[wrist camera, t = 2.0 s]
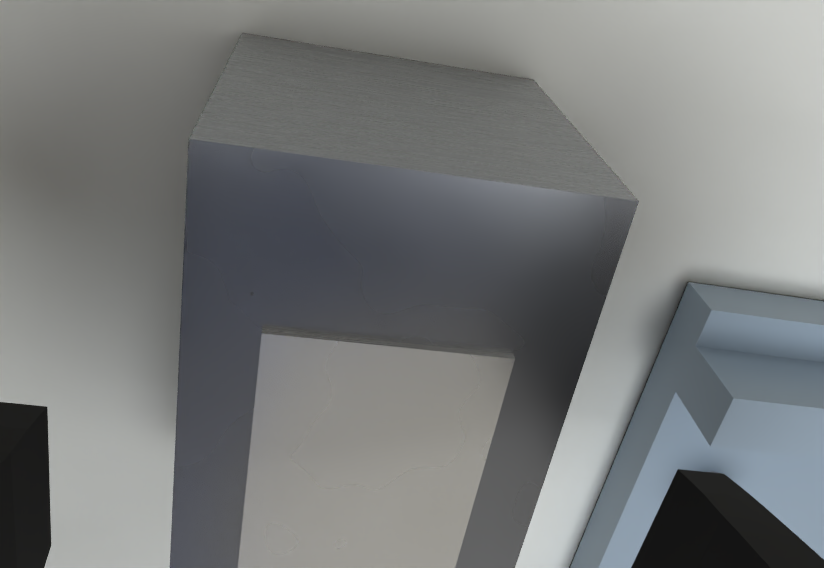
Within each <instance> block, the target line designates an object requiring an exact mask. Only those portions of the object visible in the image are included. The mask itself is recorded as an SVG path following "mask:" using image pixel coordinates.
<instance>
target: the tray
mask: <svg viewBox="0 0 824 568" xmlns="http://www.w3.org/2000/svg"><path fill="white" fill-rule="evenodd" d="M678 469H681V470H692V471H702V472H712V473H722V474H725V475H726V476H728V477H729V478H730V479H731V480H733V481H734V482H735V483H736V484H738V485H739V486H740V487H741V488H743V489H744V490H745V491H746V492H747V493H749V494H750V495H751V496H752V497H753V498H755V499H756V500H757V501H758V502H759V503H760V504H762V505H763V506H764V507H765V508H766V509H767V510H769V511H770V512H771V513H772V514H773V515H774V516H775V517H777V518H778V519H779V520H780V521H781V522H782V523H783V524H784V525H786V526H787V527H788V528H789V529H790V530H791V531H792V532H793V533H795V534H796V535H797V536H798V537H799V538H800V539H801V540H802V541H804V542H805V543H806V544H807V545H808V546H809V547H810V548H811V549H812V550H814V551H815V552H816V553H817V554H818V555H819V556H820V557H821V558H823V559H824V301H819V300H812V299H805V298H798V297H791V296H784V295H776V294H769V293H762V292H755V291H748V290H741V289H734V288H727V287H720V286H713V285H706V284H699V283H692V282H688V284H687V287H686V289H685V292H684V294H683V296H682V299H681V301H680V304H679V306H678V308H677V311H676V313H675V316H674V318H673V321H672V323H671V325H670V328H669V330H668V333H667V335H666V337H665V340H664V342H663V345H662V347H661V349H660V352H659V354H658V357H657V359H656V362H655V364H654V366H653V369H652V371H651V374H650V376H649V378H648V381H647V383H646V386H645V388H644V390H643V393H642V395H641V398H640V400H639V403H638V405H637V407H636V410H635V412H634V415H633V417H632V419H631V422H630V424H629V427H628V429H627V431H626V434H625V436H624V439H623V441H622V443H621V446H620V448H619V451H618V453H617V456H616V458H615V460H614V463H613V465H612V468H611V470H610V472H609V475H608V477H607V480H606V482H605V484H604V487H603V489H602V492H601V494H600V497H599V499H598V501H597V504H596V506H595V509H594V511H593V513H592V516H591V518H590V521H589V523H588V525H587V528H586V530H585V533H584V535H583V538H582V540H581V542H580V545H579V547H578V550H577V552H576V554H575V557H574V559H573V562H572V564H571V566H570V568H631V567H632V565H633V563H634V561H635V559H636V556H637V554H638V552H639V550H640V548H641V546H642V544H643V542H644V540H645V537H646V535H647V533H648V531H649V529H650V527H651V525H652V523H653V520H654V518H655V516H656V514H657V512H658V510H659V508H660V506H661V504H662V501H663V499H664V497H665V495H666V493H667V491H668V489H669V487H670V484H671V482H672V480H673V478H674V476H675V474H676V472H677V470H678Z"/></svg>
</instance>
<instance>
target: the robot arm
mask: <svg viewBox="0 0 824 568" xmlns="http://www.w3.org/2000/svg"><path fill="white" fill-rule="evenodd" d="M50 547H51V524H50V488H49V452H48V416H47V407H44V406H34V405H24V404H14V403H4V402H0V568H44V566H45V563H46V560H47V557H48V553H49V550H50ZM631 568H824V559H823V558H821V557H820V556H819V555H818V554H817V553H816V552H815V551H814V550H812V549H811V548H810V547H809V546H808V545H807V544H806V543H805V542H804V541H802V540H801V539H800V538H799V537H798V536H797V535H796V534H795V533H793V532H792V531H791V530H790V529H789V528H788V527H787V526H786V525H784V524H783V523H782V522H781V521H780V520H779V519H778V518H777V517H775V516H774V515H773V514H772V513H771V512H770V511H769V510H767V509H766V508H765V507H764V506H763V505H762V504H760V503H759V502H758V501H757V500H756V499H755V498H753V497H752V496H751V495H750V494H749V493H747V492H746V491H745V490H744V489H743V488H741V487H740V486H739V485H738V484H736V483H735V482H734V481H733V480H731V479H730V478H729V477H728V476H726V475H725V474H722V473H712V472H702V471H692V470H681V469H678V470H677V472H676V474H675V476H674V478H673V480H672V482H671V484H670V487H669V489H668V491H667V493H666V495H665V497H664V499H663V501H662V504H661V506H660V508H659V510H658V512H657V514H656V516H655V518H654V520H653V523H652V525H651V527H650V529H649V531H648V533H647V535H646V537H645V540H644V542H643V544H642V546H641V548H640V550H639V552H638V554H637V556H636V559H635V561H634V563H633V565H632V567H631Z"/></svg>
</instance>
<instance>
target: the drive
mask: <svg viewBox="0 0 824 568" xmlns="http://www.w3.org/2000/svg"><path fill="white" fill-rule="evenodd" d="M638 202H639V201H638V200H637V199H636V198H635V196H634V195H633V194H632V193H631V192H630V191H629V189H628V188H627V187H626V186H625V185H624V184H623V183H622V181H621V180H620V179H619V178H618V177H617V176H616V174H615V173H614V172H613V171H612V170H611V169H610V168H609V166H608V165H607V164H606V163H605V162H604V161H603V159H602V158H601V157H600V156H599V155H598V154H597V153H596V151H595V150H594V149H593V148H592V147H591V146H590V144H589V143H588V142H587V141H586V140H585V139H584V138H583V136H582V135H581V134H580V133H579V132H578V131H577V129H576V128H575V127H574V126H573V125H572V124H571V123H570V121H569V120H568V119H567V118H566V117H565V116H564V114H563V113H562V112H561V111H560V110H559V109H558V108H557V106H556V105H555V104H554V103H553V102H552V101H551V99H550V98H549V97H548V96H547V95H546V94H545V93H544V91H543V90H542V89H541V88H540V87H539V86H538V84H537V83H536V82H535V81H534V80H532V79H526V78H519V77H513V76H507V75H501V74H495V73H488V72H482V71H476V70H470V69H464V68H457V67H451V66H445V65H439V64H433V63H426V62H420V61H414V60H408V59H402V58H395V57H389V56H383V55H377V54H371V53H364V52H358V51H352V50H346V49H340V48H333V47H327V46H321V45H315V44H309V43H302V42H296V41H290V40H284V39H277V38H271V37H265V36H259V35H253V34H246V33H242V35H241V37H240V39H239V41H238V43H237V45H236V47H235V49H234V51H233V52H232V54H231V56H230V58H229V60H228V62H227V64H226V66H225V68H224V70H223V72H222V74H221V76H220V78H219V80H218V82H217V84H216V86H215V88H214V90H213V92H212V94H211V96H210V98H209V100H208V102H207V104H206V106H205V108H204V110H203V112H202V114H201V116H200V118H199V120H198V122H197V124H196V126H195V128H194V130H193V132H192V134H191V136H190V138H189V147H188V170H187V193H186V215H185V238H184V260H183V283H182V305H181V328H180V351H179V373H178V396H177V418H176V441H175V463H174V486H173V508H172V531H171V554H170V568H515V565H516V562H517V559H518V557H519V554H520V551H521V548H522V545H523V542H524V539H525V536H526V533H527V530H528V527H529V524H530V521H531V518H532V515H533V512H534V509H535V506H536V503H537V500H538V497H539V494H540V491H541V488H542V486H543V483H544V480H545V477H546V474H547V471H548V468H549V465H550V462H551V459H552V456H553V453H554V450H555V447H556V444H557V441H558V438H559V435H560V432H561V429H562V426H563V423H564V420H565V418H566V415H567V412H568V409H569V406H570V403H571V400H572V397H573V394H574V391H575V388H576V385H577V382H578V379H579V376H580V373H581V370H582V367H583V364H584V361H585V358H586V355H587V352H588V350H589V347H590V344H591V341H592V338H593V335H594V332H595V329H596V326H597V323H598V320H599V317H600V314H601V311H602V308H603V305H604V302H605V299H606V296H607V293H608V290H609V287H610V284H611V282H612V279H613V276H614V273H615V270H616V267H617V264H618V261H619V258H620V255H621V252H622V249H623V246H624V243H625V240H626V237H627V234H628V231H629V228H630V225H631V222H632V219H633V216H634V214H635V211H636V208H637V205H638Z"/></svg>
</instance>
